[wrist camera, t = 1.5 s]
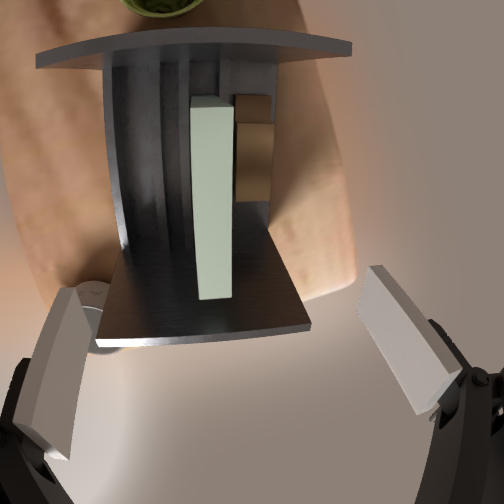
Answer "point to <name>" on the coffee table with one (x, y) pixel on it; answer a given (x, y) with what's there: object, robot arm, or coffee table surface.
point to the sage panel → (212, 193)
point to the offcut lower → (249, 113)
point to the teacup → (94, 312)
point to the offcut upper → (253, 160)
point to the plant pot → (160, 7)
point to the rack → (185, 181)
